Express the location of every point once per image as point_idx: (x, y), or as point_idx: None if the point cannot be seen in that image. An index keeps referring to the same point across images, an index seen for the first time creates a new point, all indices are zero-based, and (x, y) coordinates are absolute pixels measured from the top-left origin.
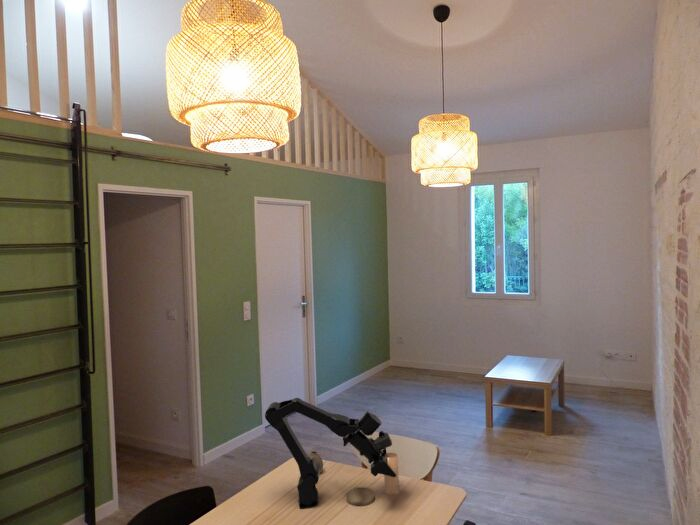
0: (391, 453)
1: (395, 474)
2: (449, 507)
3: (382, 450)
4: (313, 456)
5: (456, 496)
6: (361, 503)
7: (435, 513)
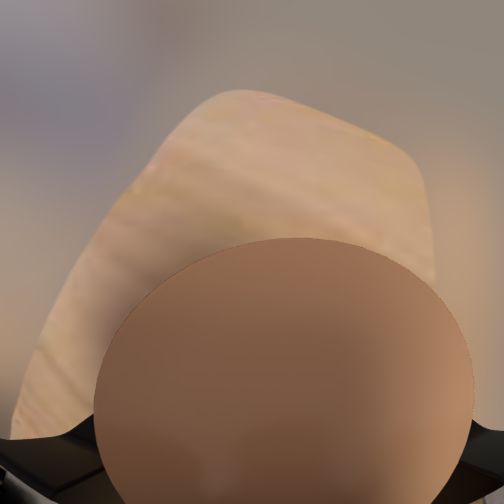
0: (145, 406)
1: None
2: (344, 130)
3: (21, 486)
4: None
5: (265, 101)
6: None
7: (389, 179)
